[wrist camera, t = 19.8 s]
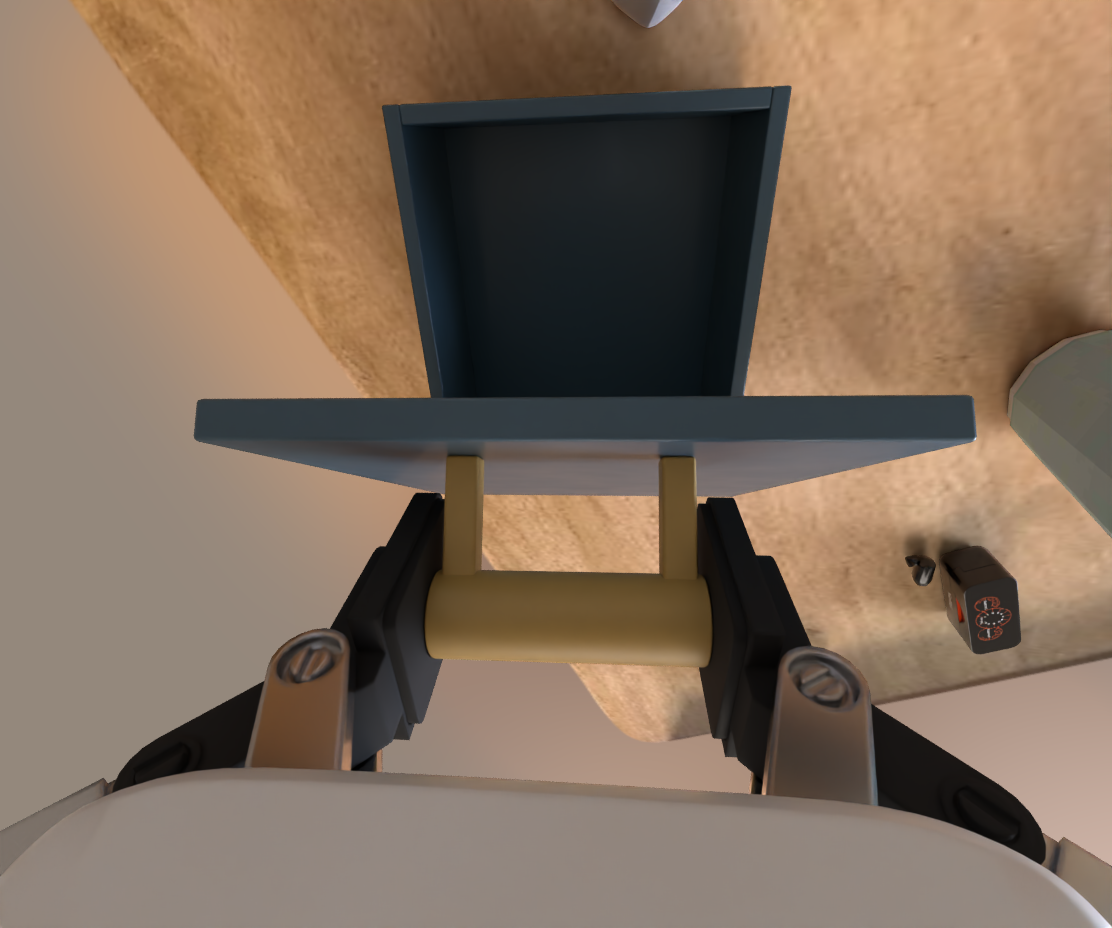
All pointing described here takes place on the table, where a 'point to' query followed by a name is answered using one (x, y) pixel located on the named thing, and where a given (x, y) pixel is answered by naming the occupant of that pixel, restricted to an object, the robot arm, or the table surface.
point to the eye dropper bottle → (647, 10)
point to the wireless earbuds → (975, 597)
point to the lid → (584, 493)
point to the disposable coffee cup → (1071, 417)
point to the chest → (588, 239)
